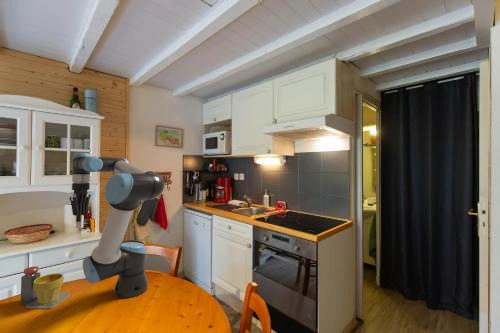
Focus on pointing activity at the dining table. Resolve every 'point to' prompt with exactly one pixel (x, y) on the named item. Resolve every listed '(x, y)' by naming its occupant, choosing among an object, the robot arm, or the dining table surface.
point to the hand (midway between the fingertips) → (79, 227)
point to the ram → (31, 271)
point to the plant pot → (48, 287)
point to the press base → (31, 297)
